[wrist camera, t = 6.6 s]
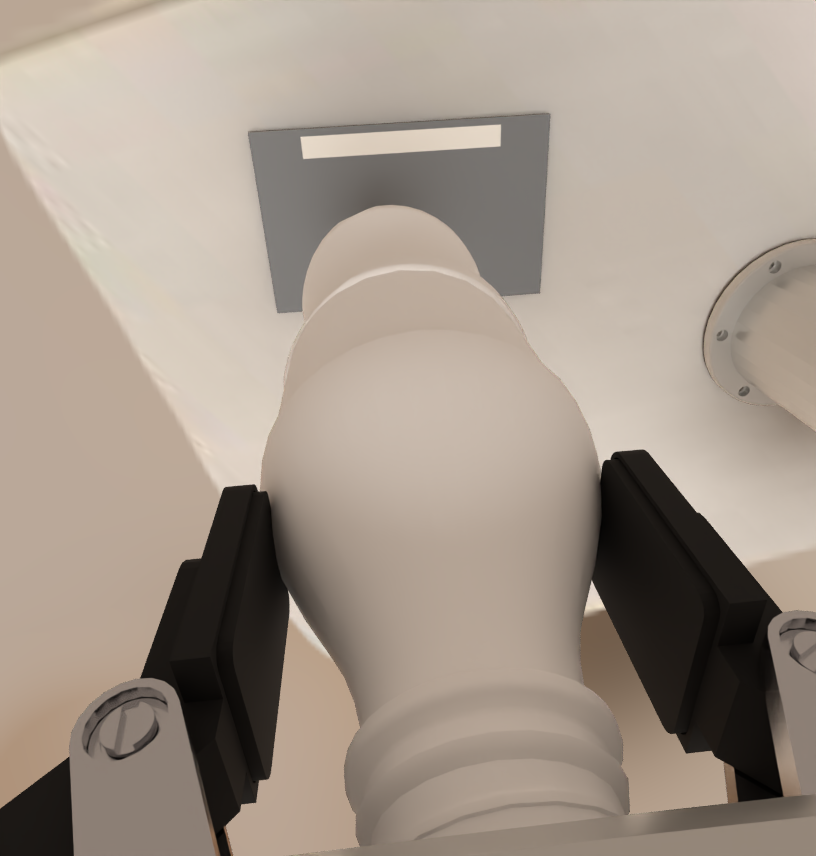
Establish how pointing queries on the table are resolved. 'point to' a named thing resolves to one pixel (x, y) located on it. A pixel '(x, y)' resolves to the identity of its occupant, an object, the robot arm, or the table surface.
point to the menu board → (408, 190)
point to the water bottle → (441, 539)
